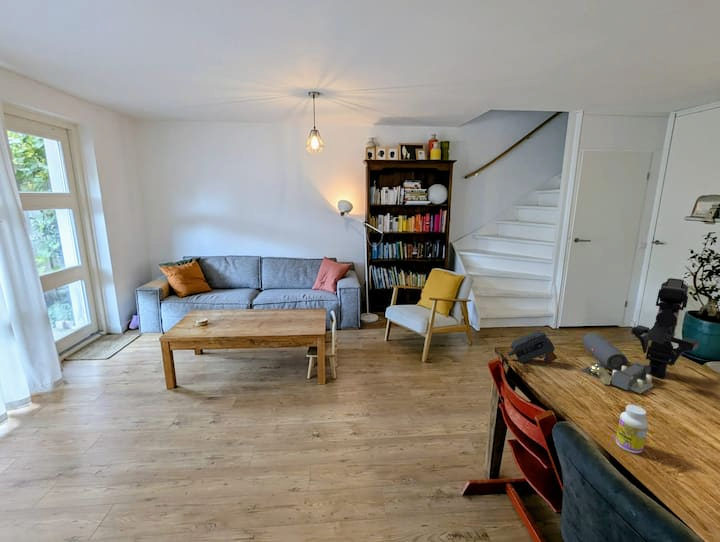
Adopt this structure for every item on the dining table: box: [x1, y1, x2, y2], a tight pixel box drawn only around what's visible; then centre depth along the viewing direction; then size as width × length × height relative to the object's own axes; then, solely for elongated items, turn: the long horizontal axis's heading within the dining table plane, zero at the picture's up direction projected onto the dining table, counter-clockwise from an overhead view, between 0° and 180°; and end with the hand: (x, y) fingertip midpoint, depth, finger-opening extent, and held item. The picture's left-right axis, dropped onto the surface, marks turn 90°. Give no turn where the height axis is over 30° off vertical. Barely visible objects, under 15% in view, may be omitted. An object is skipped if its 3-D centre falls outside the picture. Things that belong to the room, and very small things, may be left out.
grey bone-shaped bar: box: [611, 361, 651, 391], centre depth 136 cm, size 19×5×5 cm, turn 119°
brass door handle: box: [588, 362, 612, 385], centre depth 141 cm, size 14×6×4 cm, turn 163°
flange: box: [580, 366, 613, 380], centre depth 145 cm, size 9×9×1 cm
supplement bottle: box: [615, 404, 649, 454], centre depth 101 cm, size 7×7×13 cm
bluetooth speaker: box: [582, 332, 629, 372], centre depth 154 cm, size 23×9×10 cm, turn 170°
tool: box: [507, 330, 558, 364], centre depth 154 cm, size 6×19×15 cm, turn 78°
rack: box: [610, 365, 654, 394], centre depth 136 cm, size 11×11×4 cm
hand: (659, 357), depth 131 cm, fingers open, 9 cm apart
